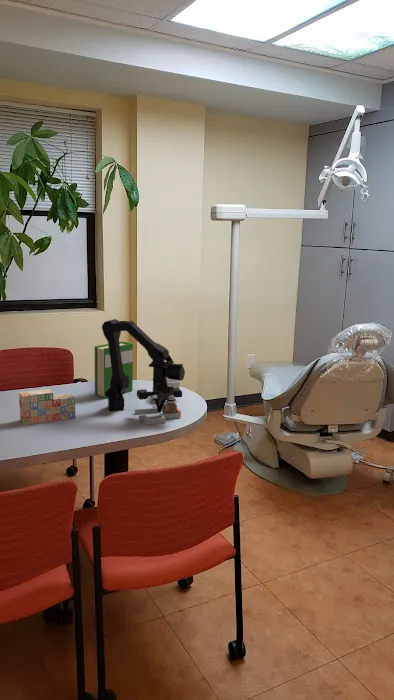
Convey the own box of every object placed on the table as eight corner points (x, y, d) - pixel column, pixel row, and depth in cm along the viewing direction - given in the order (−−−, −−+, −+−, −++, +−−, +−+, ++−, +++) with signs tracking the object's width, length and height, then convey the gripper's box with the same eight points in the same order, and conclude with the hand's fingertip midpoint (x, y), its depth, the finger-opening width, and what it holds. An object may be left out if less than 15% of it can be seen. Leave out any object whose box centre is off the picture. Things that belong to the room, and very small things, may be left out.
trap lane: (141, 424, 222) (141, 417, 221) (132, 410, 240) (132, 403, 239) (183, 421, 228) (184, 414, 227) (172, 407, 245) (172, 401, 245)
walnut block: (165, 417, 232) (165, 405, 231) (162, 413, 237) (162, 402, 236) (176, 416, 234) (176, 405, 233) (173, 412, 238) (173, 401, 237)
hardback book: (105, 399, 254) (105, 348, 249) (94, 395, 259) (94, 346, 254) (132, 391, 268) (132, 343, 263) (121, 388, 272) (122, 341, 267)
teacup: (165, 392, 267) (166, 373, 265) (186, 399, 257) (187, 379, 255) (146, 397, 259) (147, 376, 257) (167, 404, 249) (168, 383, 247)
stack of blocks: (71, 413, 233) (71, 386, 230) (75, 418, 227) (75, 390, 225) (19, 420, 223) (18, 391, 220) (22, 425, 217) (21, 395, 215)
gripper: (142, 383, 220) (141, 420, 223) (186, 381, 225) (185, 417, 229) (136, 376, 230) (136, 411, 234) (179, 374, 236) (178, 409, 239)
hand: (159, 412), depth 233 cm, fingers closed
